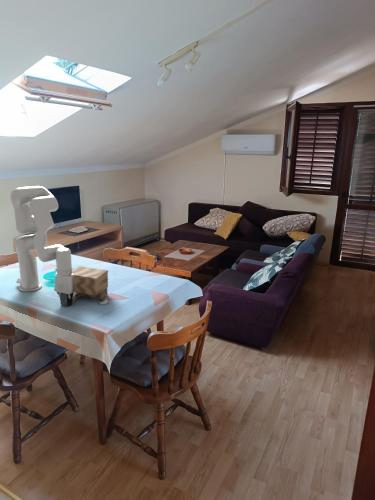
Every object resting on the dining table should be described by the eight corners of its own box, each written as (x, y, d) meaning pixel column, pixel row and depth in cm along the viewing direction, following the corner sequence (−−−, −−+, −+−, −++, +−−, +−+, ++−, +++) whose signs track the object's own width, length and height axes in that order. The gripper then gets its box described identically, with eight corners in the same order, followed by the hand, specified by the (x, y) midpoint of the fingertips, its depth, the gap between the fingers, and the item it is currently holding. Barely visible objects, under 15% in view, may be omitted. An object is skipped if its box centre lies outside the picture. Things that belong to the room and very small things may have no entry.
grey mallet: (61, 305, 191) (60, 293, 189) (75, 296, 203) (74, 284, 201) (67, 306, 190) (66, 294, 188) (81, 297, 202) (80, 285, 200)
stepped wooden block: (67, 298, 200) (65, 273, 195) (80, 289, 212) (79, 266, 207) (96, 304, 195) (95, 278, 190) (108, 294, 207) (108, 270, 202)
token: (96, 304, 195) (96, 301, 194) (102, 300, 199) (102, 298, 199) (104, 306, 193) (104, 303, 193) (110, 302, 198) (109, 299, 197)
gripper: (46, 271, 186) (48, 303, 191) (74, 276, 181) (76, 309, 187) (55, 267, 193) (57, 298, 198) (82, 271, 188) (84, 303, 194)
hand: (66, 303), depth 192 cm, fingers closed on grey mallet, 3 cm apart
